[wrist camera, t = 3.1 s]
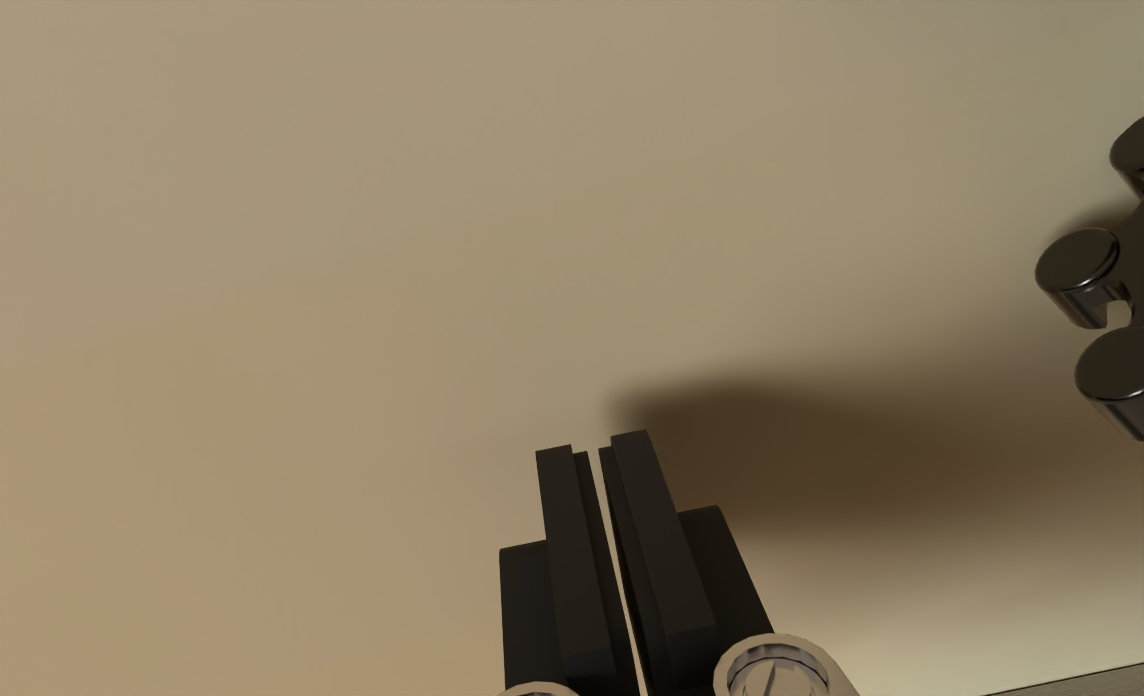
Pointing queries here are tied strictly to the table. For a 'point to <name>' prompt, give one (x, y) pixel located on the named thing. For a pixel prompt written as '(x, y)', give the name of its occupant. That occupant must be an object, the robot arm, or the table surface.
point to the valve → (1107, 296)
